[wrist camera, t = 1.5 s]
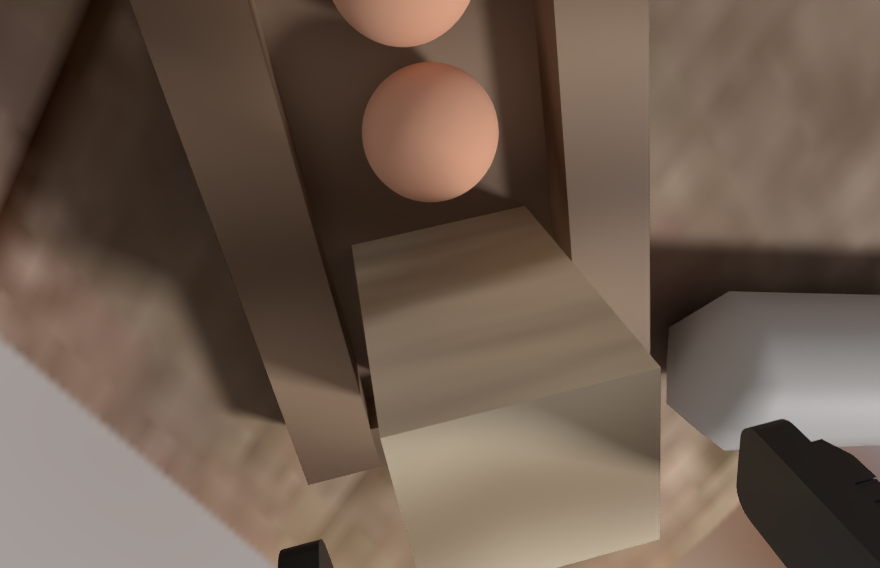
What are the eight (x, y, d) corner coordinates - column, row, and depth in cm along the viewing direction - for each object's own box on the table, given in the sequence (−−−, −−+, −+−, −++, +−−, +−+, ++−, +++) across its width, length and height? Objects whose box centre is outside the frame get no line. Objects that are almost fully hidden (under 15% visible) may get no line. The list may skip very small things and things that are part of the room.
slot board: (114, -123, 14) (78, -136, 12) (598, -207, 15) (648, -234, 13) (308, 430, 22) (308, 484, 19) (616, 353, 23) (650, 397, 20)
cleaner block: (351, 244, 18) (380, 438, 11) (524, 205, 18) (660, 367, 11) (384, 373, 20) (426, 603, 13) (538, 336, 20) (659, 538, 13)
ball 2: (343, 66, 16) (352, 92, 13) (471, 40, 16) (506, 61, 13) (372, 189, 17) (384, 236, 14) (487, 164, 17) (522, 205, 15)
